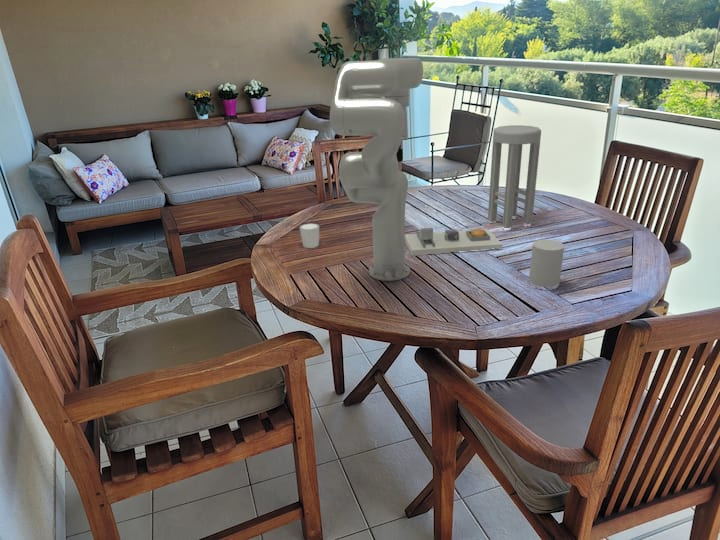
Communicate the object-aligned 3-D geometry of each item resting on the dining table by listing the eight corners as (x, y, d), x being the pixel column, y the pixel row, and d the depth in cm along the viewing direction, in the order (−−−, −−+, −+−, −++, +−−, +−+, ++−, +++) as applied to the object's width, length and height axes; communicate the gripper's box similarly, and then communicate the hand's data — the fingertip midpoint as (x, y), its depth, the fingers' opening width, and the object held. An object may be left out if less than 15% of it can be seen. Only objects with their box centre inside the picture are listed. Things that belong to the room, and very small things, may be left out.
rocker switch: (458, 237, 173) (458, 231, 173) (449, 238, 173) (449, 232, 172) (454, 235, 178) (454, 229, 178) (445, 235, 178) (445, 229, 178)
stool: (504, 234, 184) (512, 133, 170) (479, 221, 198) (485, 127, 183) (540, 227, 189) (550, 129, 175) (513, 215, 203) (521, 123, 188)
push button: (486, 238, 175) (486, 233, 174) (473, 239, 174) (473, 234, 174) (482, 234, 179) (482, 229, 178) (469, 235, 179) (469, 229, 178)
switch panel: (501, 249, 171) (502, 239, 169) (411, 256, 169) (411, 245, 168) (487, 234, 185) (488, 224, 183) (404, 239, 183) (404, 229, 181)
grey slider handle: (433, 243, 173) (433, 229, 171) (421, 244, 173) (421, 230, 170) (431, 240, 175) (431, 226, 173) (419, 241, 175) (419, 227, 173)
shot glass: (297, 247, 181) (295, 228, 178) (308, 240, 186) (306, 222, 183) (313, 250, 178) (312, 230, 175) (324, 243, 183) (323, 224, 180)
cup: (552, 277, 150) (557, 238, 146) (563, 289, 143) (569, 249, 138) (524, 278, 150) (528, 240, 145) (534, 291, 143) (538, 251, 138)
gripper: (413, 103, 152) (413, 165, 160) (404, 98, 166) (405, 156, 173) (387, 105, 152) (388, 167, 159) (381, 99, 165) (382, 157, 173)
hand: (397, 161), depth 166 cm, fingers closed
